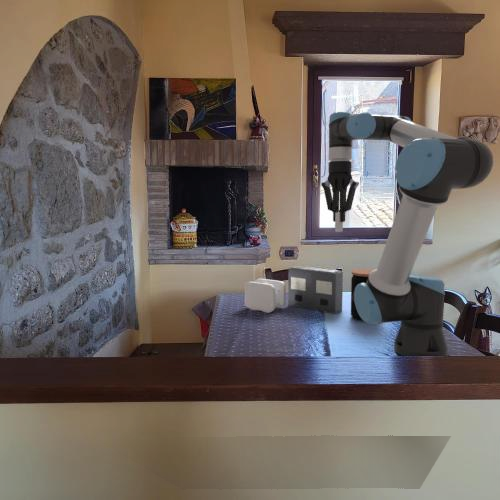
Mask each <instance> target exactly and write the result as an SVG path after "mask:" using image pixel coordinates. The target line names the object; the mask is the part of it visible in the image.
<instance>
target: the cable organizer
mask: <svg viewBox="0 0 500 500" xmlns="http://www.w3.org/2000/svg"><path fill="white" fill-rule="evenodd" d="M286 285H287V284H286V283H285V282H284V281H281V280H277V279H276V280H275V279H268V278H256V279H255V280H254V281H248V282H245V283H244V306H245V307H246V308H247V309H249V310H251V311H261V312H263V313H268V314H270V313H271V312H274V311H275V310H276V309H281V308H284V307H285V306H286V304H287V296H286V295H287V294H286V293H287V287H286Z"/></svg>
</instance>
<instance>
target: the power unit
mask: <svg viewBox="0 0 500 500" xmlns="http://www.w3.org/2000/svg"><path fill="white" fill-rule="evenodd" d="M287 270H288V273H287V274H288V275H287V277H288V282H287V285H288V291H287V292H288V294H287V295H288V297H287V298H288V299H287V300H288V302H287V305H288V307H289V306H290V307H295V308H300V309H301V308H302V309H307V310H313V311H318V312H324V313H329V314H337V313H340V312H342V311H343V281H344V278H343V277H344V275H343V273H344V271H343V270H342V271H341V270H339V269H338V270H337V269H331V268H330V269H328V268H320V267H310V266H303V265H302V266H301V265H295V266H291V267H289V268H288V269H287Z"/></svg>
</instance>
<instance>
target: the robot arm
mask: <svg viewBox="0 0 500 500" xmlns="http://www.w3.org/2000/svg"><path fill="white" fill-rule="evenodd" d="M356 140H357V141H358V140H360V141H361V140H362V141H363V140H367V141H388V142H390V143H393V144H396V145H397V146H399V147H401V148H402V149H401V151H400V153H399V154H398V157H397V160H396V163H395V166H394V168H395V171H396V173H395V179H396V183H397V184H398V185H399V187H398V190H399V192H400V193H401V195H402V197H401V200H400V203H399V205H398V208H397V211H396V214H395V217H394V220H393V222H392V226H391V229H390V231H389V234H388V236H387V240H386V243H385V245H384V249H383V251H382V254H381V257H380V260H379V262H378V266H377V268H376V269H372V270H373V271H371V272H370V274H369V277H368V280H367V282H366V283H361V284H358V285H357V286H356V288H355V291H354V301H355V306H356V309H357V312H358V314H359V316H360V317H361V318H362V320H363V321H365V322H364V323H366V324H379V325H380V324H385V323H387V324H388V323H393V322H400V327H399V329H398V331H397V334H396V337H395V340H394V342H393V343H394V345H393V346H394V347H393V349H394V350H393V351H394V352H395V353H396V352H397V354H398V355H400V356H401V357H404V356H447V357H448V356H449V345H448V342H447V339H446V336H445V332H444V313H445V310H444V309H445V308H444V307H445V295H446V293H445V282H444V280H442V279H440V278H437V277H434V276H429V275H424V274H423V275H422V274H416V273H412V272H413V268H414V266H415V263H416V261H417V259H418V256H419V254H420V252H421V248H422V246H423V243H424V241H425V239H426V237H427V234H428V232H429V229H430V227H431V225H432V222H433V219H434V216H435V213H436V212H437V209H438V207H440V206H441V205H445V204H446V203H447V202H448V199H449V198H450V195H451V193H452V191H453V190H460V189H469V188H473V187H476V186H477V185H479V184H481V183H482V182H484V181H485V180H486V179H487V178H488V177H489V175H490V174H491V172H492V169H493V167H494V156H493V152H492V150H491V149H490V147H489V146H488V145H486V143H485V142H482V141H480V140H477V139H473V138H470V137H466V136H459V137H454V136H451V135H450V134H449V135H448V134H446V133H444V132H441V131H439V130H438V131H437V130H436V129H432V128H430V127H427V126H424V125H421V124H418V123H415V122H413V121H412V119H411V118H410V117H409V116H403V115H380V114H371V113H369V112H365V111H364V112H363V111H362V112H356V113H354V114H352V113H351V112H349V111H337V112H333V113H331V114H330V115H329V123H328V160H329V162H328V176H327V180H325V181H324V182H321V187H322V188H323V192H324V196H325V202H326V207H327V210H328V211H331V212H332V221H333V222H335V223H334V224H335V225H334V232H335V233H343V232H344V229H343V228H344V225H343V224H344V223H345V222H346V212H349V211H351V210H352V206H353V202H354V198H355V193H356V189H357V188H358V186H359V185H360V183H359V181H356V180H354V179H353V175H352V162H351V160H352V159H353V156H352V153H353V150H352V147H353V141H356ZM348 187H349V188H348ZM363 321H362V322H363Z"/></svg>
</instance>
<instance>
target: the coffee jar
mask: <svg viewBox="0 0 500 500" xmlns="http://www.w3.org/2000/svg"><path fill="white" fill-rule="evenodd" d="M373 270H374V269H362V268H359V269H353V270H352V271H351V274H352V276H351V279H350V281H351V283H350V286H351V287H350V290H351V291H350V316H351V318H352V319H353V320H355V321H358V322H364V323H366V322H365V321H363V320H362V318H361V317H360V316H359V314H358V312H357V309H356V306H355V301H354V291H355V288H356V286H357V285H358V284H361V283H366V282H367V280H368V277H369V274H370V272H371V271H373Z"/></svg>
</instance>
